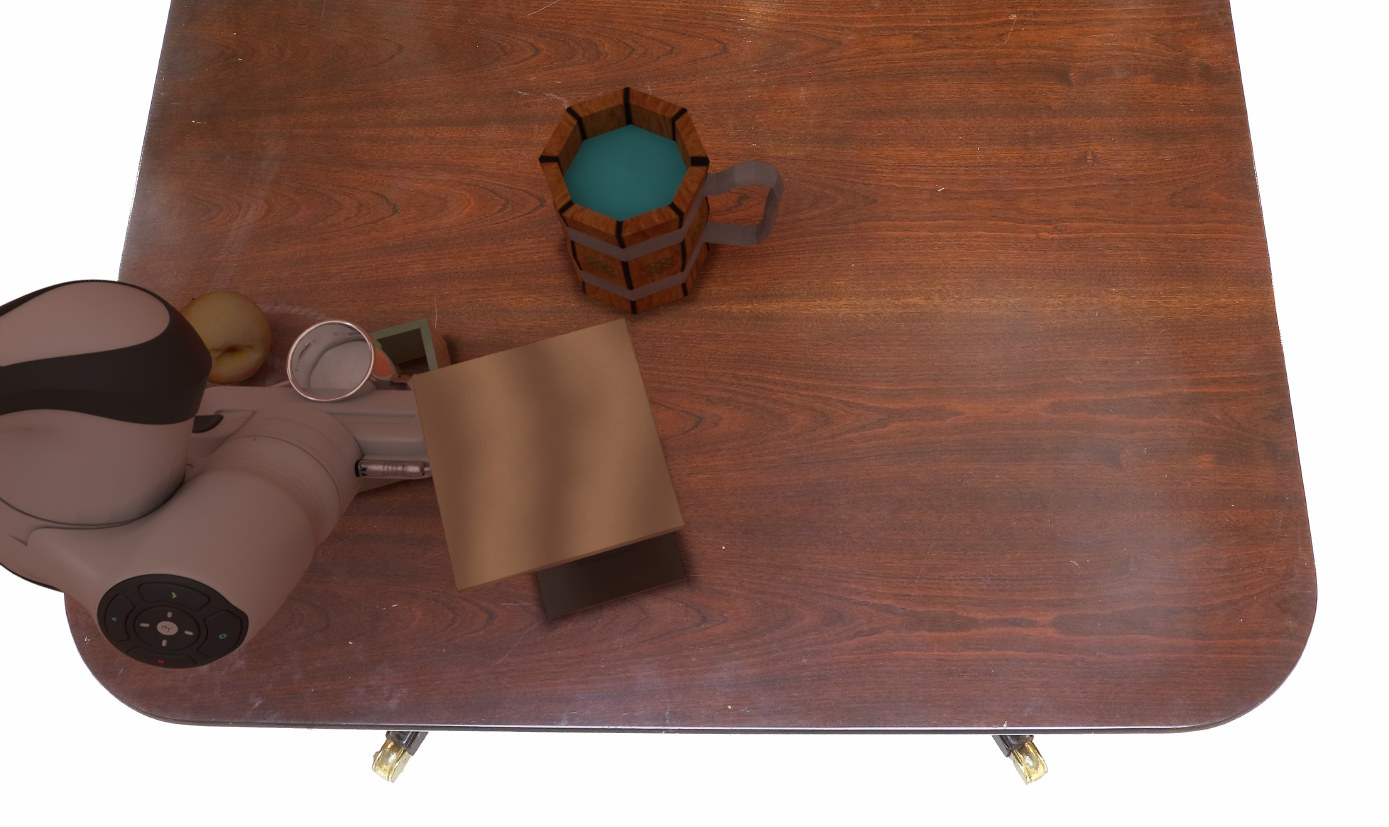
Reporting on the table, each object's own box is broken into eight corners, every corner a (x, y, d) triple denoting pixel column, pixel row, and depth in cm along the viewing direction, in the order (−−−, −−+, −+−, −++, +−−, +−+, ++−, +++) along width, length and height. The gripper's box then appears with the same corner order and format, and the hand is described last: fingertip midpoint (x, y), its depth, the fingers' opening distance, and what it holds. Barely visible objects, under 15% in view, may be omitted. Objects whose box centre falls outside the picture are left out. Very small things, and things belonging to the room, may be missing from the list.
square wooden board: (461, 593, 52) (456, 591, 51) (415, 381, 56) (410, 375, 55) (685, 528, 53) (685, 525, 52) (626, 323, 56) (624, 316, 55)
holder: (343, 497, 81) (315, 482, 76) (321, 376, 85) (292, 353, 79) (473, 460, 82) (455, 442, 76) (446, 342, 85) (427, 316, 80)
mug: (561, 313, 86) (531, 236, 72) (570, 183, 90) (544, 85, 75) (775, 317, 85) (788, 240, 71) (775, 186, 89) (787, 88, 75)
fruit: (207, 403, 84) (156, 374, 76) (203, 319, 86) (153, 283, 79) (291, 387, 84) (249, 356, 77) (285, 304, 87) (243, 266, 79)
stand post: (549, 619, 78) (467, 582, 52) (516, 484, 81) (425, 386, 55) (687, 579, 79) (674, 522, 53) (649, 447, 82) (620, 332, 56)
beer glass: (350, 393, 84) (275, 331, 70) (425, 371, 84) (366, 305, 70) (366, 465, 82) (292, 416, 68) (443, 441, 83) (386, 388, 68)
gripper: (438, 433, 61) (486, 347, 74) (132, 426, 62) (231, 341, 74) (449, 513, 64) (494, 418, 77) (157, 505, 65) (248, 411, 77)
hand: (362, 380), depth 75 cm, fingers closed on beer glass, 7 cm apart
